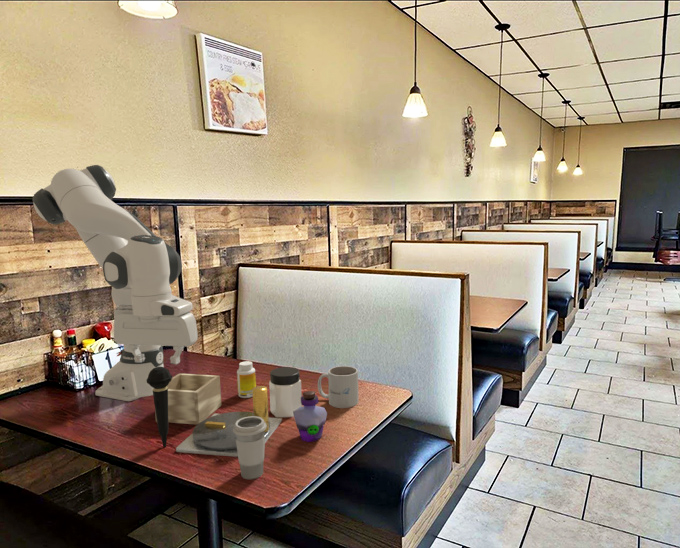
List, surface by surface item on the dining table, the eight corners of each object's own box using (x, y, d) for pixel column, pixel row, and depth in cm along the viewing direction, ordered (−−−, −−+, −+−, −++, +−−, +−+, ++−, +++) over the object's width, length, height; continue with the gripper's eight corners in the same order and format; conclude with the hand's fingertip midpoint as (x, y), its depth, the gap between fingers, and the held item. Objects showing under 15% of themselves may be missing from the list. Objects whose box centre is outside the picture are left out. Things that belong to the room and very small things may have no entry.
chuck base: (176, 451, 115) (176, 447, 115) (214, 416, 134) (214, 413, 134) (253, 459, 110) (253, 455, 110) (281, 421, 129) (281, 418, 129)
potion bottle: (305, 450, 114) (303, 402, 112) (286, 437, 121) (285, 391, 119) (335, 440, 119) (333, 393, 117) (315, 427, 126) (314, 383, 124)
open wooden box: (155, 421, 132) (153, 389, 130) (181, 402, 144) (179, 373, 143) (199, 424, 129) (197, 392, 128) (221, 405, 141) (219, 375, 140)
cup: (243, 487, 99) (240, 432, 98) (230, 473, 105) (227, 421, 103) (274, 475, 103) (272, 422, 102) (260, 463, 109) (257, 412, 107)
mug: (364, 401, 142) (363, 369, 140) (347, 412, 135) (347, 378, 133) (330, 393, 149) (329, 362, 147) (313, 403, 142) (311, 370, 140)
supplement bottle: (259, 395, 148) (258, 363, 147) (243, 400, 145) (241, 367, 143) (250, 390, 153) (249, 359, 151) (234, 395, 149) (233, 363, 148)
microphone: (147, 449, 116) (140, 369, 113) (165, 439, 121) (159, 362, 118) (163, 454, 114) (157, 372, 111) (181, 443, 119) (176, 365, 116)
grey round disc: (177, 446, 115) (174, 399, 113) (214, 412, 133) (212, 372, 132) (254, 453, 111) (251, 404, 109) (281, 417, 129) (279, 375, 127)
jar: (306, 414, 134) (304, 373, 132) (279, 421, 130) (277, 379, 128) (293, 403, 141) (291, 364, 140) (267, 409, 138) (265, 369, 136)
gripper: (104, 307, 112) (110, 365, 114) (184, 308, 107) (189, 368, 109) (122, 302, 118) (127, 356, 120) (198, 303, 113) (202, 360, 115)
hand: (157, 362), depth 114 cm, fingers open, 8 cm apart
